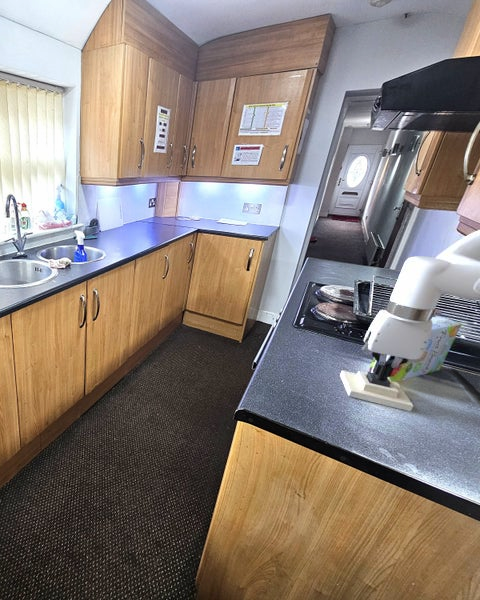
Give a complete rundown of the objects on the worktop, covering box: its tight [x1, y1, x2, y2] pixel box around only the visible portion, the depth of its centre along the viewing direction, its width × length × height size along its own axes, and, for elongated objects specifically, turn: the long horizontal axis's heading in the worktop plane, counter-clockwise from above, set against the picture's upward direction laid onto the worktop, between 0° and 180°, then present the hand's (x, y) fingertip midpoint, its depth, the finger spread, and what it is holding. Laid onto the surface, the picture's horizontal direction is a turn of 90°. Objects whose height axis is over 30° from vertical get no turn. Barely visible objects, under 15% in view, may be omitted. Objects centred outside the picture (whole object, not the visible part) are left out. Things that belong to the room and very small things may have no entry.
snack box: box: [367, 315, 463, 383], centre depth 88 cm, size 21×6×15 cm, turn 107°
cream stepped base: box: [339, 369, 414, 412], centre depth 83 cm, size 12×10×4 cm
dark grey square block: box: [366, 371, 391, 387], centre depth 82 cm, size 4×4×2 cm
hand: (379, 377), depth 82 cm, fingers closed
